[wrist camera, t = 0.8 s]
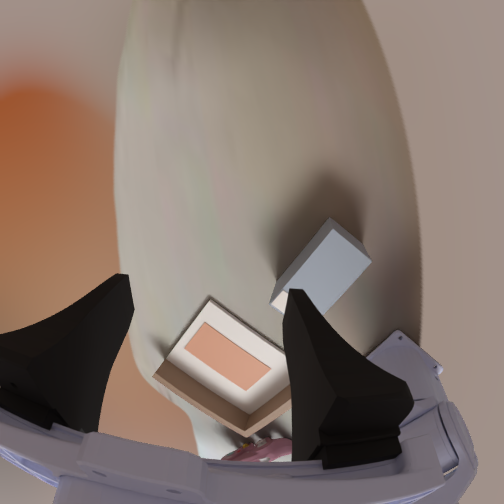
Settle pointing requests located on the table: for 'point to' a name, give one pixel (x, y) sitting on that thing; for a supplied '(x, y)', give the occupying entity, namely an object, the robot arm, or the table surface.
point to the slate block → (323, 268)
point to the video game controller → (261, 450)
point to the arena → (228, 372)
